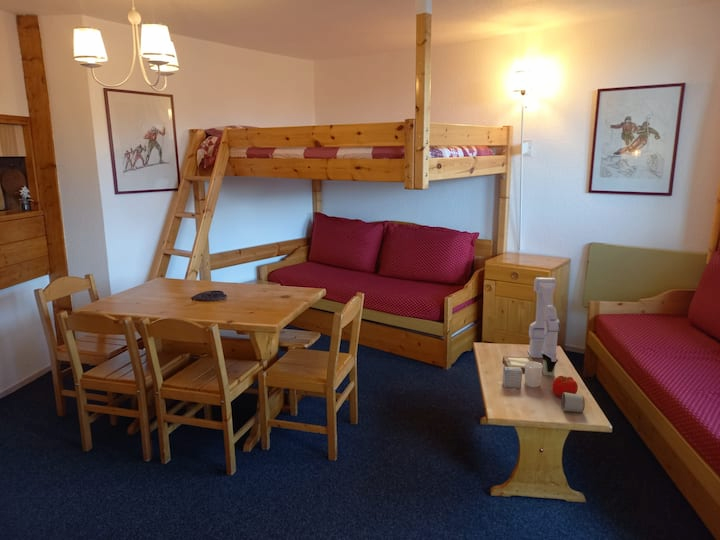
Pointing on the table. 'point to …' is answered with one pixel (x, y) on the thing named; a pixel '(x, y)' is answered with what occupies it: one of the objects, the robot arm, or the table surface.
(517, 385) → the medicine box
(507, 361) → the plinth
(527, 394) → the table surface
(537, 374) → the white cup
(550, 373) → the sage block
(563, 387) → the tomato
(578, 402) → the grey cylinder
